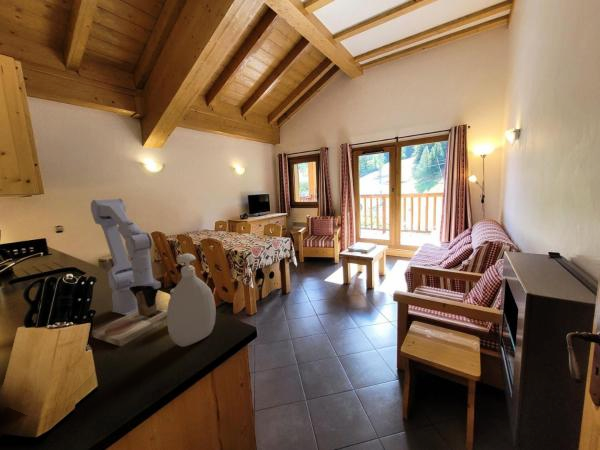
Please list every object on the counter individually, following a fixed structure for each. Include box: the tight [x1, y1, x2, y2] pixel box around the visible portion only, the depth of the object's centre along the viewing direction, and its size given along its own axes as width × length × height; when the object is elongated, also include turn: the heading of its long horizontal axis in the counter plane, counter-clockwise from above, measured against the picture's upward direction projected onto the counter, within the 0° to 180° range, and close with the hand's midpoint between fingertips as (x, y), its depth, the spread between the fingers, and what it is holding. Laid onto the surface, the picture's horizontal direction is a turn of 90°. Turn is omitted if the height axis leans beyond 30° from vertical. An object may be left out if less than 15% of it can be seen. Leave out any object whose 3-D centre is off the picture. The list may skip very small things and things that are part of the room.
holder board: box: [91, 306, 168, 347], centre depth 87 cm, size 14×19×2 cm
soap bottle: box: [166, 252, 217, 348], centre depth 76 cm, size 14×8×27 cm, turn 138°
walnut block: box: [136, 291, 158, 318], centre depth 90 cm, size 4×4×8 cm
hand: (146, 305), depth 90 cm, fingers closed on walnut block, 4 cm apart
